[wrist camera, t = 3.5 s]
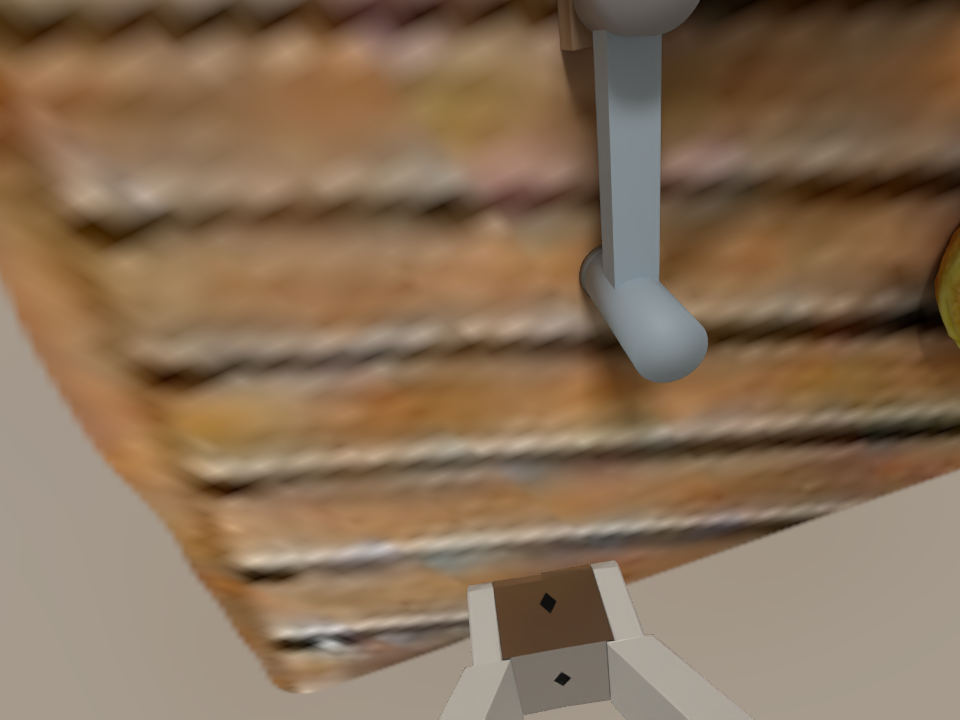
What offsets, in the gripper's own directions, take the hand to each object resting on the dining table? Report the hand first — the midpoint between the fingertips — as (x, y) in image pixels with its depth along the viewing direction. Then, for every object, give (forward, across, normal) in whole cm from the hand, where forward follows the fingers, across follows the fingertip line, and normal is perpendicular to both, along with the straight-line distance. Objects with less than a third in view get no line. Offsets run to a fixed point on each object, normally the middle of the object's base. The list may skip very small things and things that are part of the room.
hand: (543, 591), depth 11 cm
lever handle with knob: (+14, -5, -5) cm, 16 cm away
